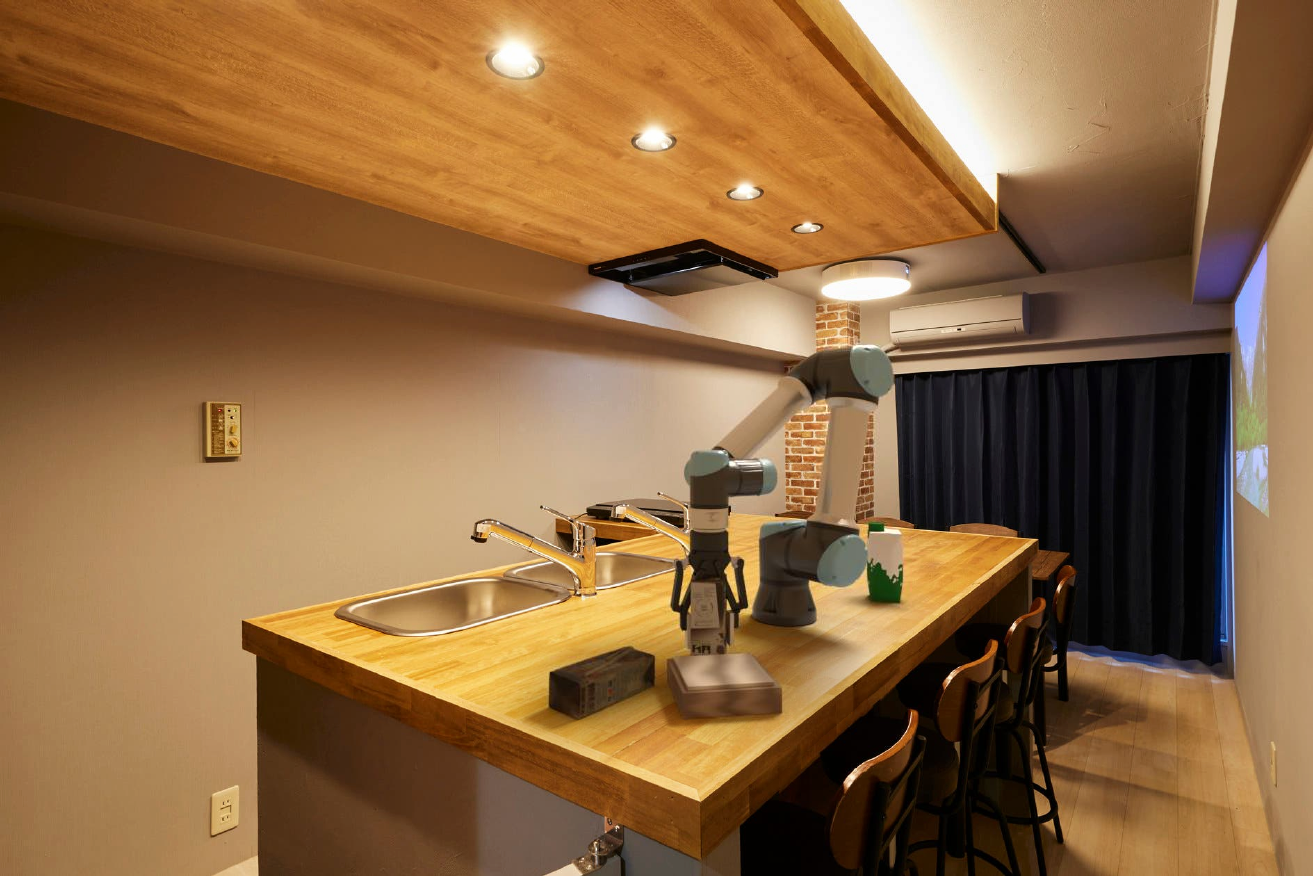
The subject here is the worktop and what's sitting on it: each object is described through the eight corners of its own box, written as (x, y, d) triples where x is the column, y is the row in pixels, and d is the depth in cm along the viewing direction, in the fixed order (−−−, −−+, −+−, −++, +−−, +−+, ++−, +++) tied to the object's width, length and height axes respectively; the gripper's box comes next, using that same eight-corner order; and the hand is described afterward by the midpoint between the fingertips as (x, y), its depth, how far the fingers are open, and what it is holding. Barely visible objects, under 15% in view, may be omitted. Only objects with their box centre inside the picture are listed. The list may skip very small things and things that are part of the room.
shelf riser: (753, 676, 123) (753, 651, 123) (782, 712, 107) (782, 683, 107) (666, 681, 121) (666, 655, 121) (682, 719, 105) (682, 689, 105)
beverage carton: (657, 687, 119) (657, 650, 119) (578, 723, 104) (578, 681, 104) (625, 676, 124) (625, 641, 124) (545, 709, 110) (545, 670, 109)
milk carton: (865, 593, 184) (865, 520, 184) (900, 595, 182) (900, 521, 182) (868, 601, 176) (868, 524, 175) (904, 603, 173) (905, 526, 173)
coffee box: (723, 668, 127) (723, 583, 127) (689, 666, 129) (689, 581, 128) (728, 652, 136) (728, 572, 136) (696, 650, 137) (696, 571, 137)
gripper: (659, 533, 127) (660, 654, 127) (765, 530, 130) (766, 649, 130) (654, 527, 134) (654, 642, 135) (754, 525, 137) (754, 637, 137)
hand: (709, 645), depth 132 cm, fingers closed on coffee box, 8 cm apart
